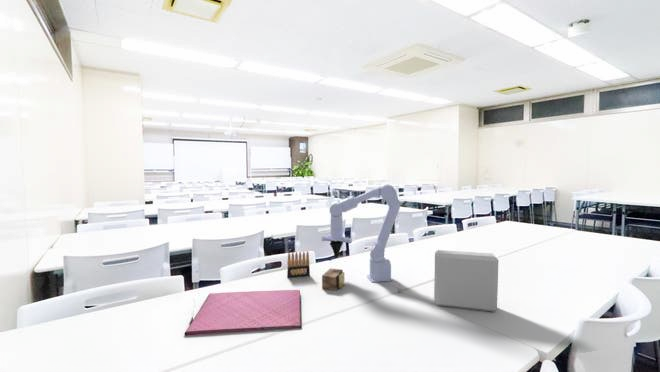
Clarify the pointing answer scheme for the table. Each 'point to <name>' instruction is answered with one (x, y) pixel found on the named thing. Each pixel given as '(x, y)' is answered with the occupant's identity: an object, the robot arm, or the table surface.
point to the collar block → (331, 279)
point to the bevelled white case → (466, 280)
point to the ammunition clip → (298, 266)
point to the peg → (341, 279)
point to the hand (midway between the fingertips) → (336, 256)
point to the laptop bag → (247, 312)
